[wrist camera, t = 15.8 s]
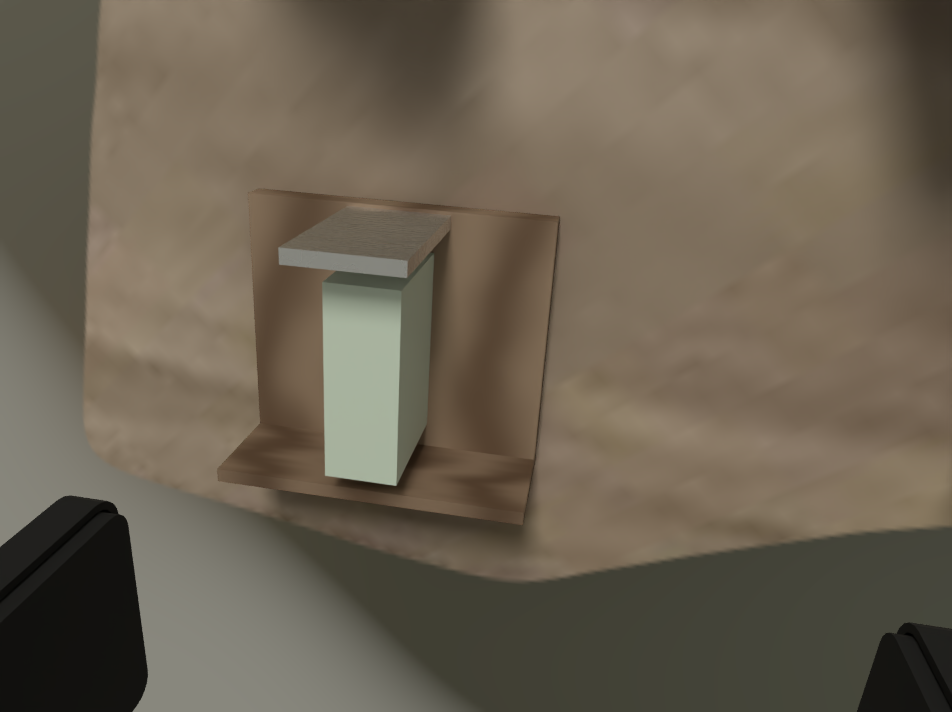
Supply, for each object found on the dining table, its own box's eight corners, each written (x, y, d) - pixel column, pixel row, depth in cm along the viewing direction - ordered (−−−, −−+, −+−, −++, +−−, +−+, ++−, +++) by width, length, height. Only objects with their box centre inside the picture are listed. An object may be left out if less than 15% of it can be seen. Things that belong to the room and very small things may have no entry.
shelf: (559, 216, 44) (543, 270, 33) (534, 461, 50) (514, 573, 39) (258, 188, 46) (154, 230, 35) (270, 426, 52) (183, 522, 42)
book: (434, 252, 44) (401, 290, 37) (426, 423, 48) (396, 485, 41) (366, 246, 45) (322, 282, 38) (365, 415, 49) (325, 475, 42)
